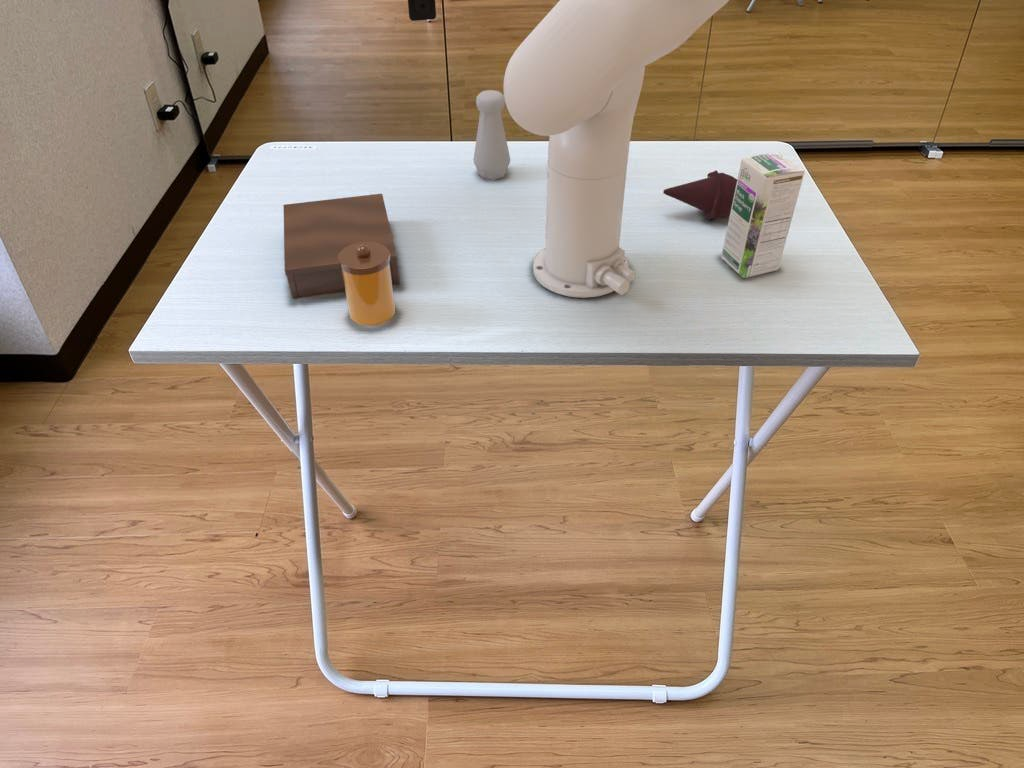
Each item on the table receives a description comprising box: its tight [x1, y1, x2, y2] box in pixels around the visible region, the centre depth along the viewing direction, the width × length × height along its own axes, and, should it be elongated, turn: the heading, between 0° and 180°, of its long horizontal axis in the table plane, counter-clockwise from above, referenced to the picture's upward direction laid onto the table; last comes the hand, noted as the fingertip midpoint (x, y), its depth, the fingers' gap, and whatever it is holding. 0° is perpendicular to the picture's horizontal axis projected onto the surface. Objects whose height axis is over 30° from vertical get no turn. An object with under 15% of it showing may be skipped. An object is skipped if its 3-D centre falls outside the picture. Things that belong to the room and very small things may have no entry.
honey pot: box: [338, 242, 396, 327], centre depth 93 cm, size 6×6×10 cm
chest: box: [286, 260, 401, 299], centre depth 104 cm, size 17×14×4 cm
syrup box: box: [720, 152, 806, 279], centre depth 99 cm, size 6×6×14 cm
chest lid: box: [282, 193, 398, 276], centre depth 102 cm, size 17×14×1 cm
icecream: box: [662, 169, 738, 221], centre depth 112 cm, size 7×7×15 cm
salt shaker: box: [473, 89, 511, 181], centre depth 120 cm, size 6×6×13 cm
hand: (417, 7), depth 97 cm, fingers open, 9 cm apart
